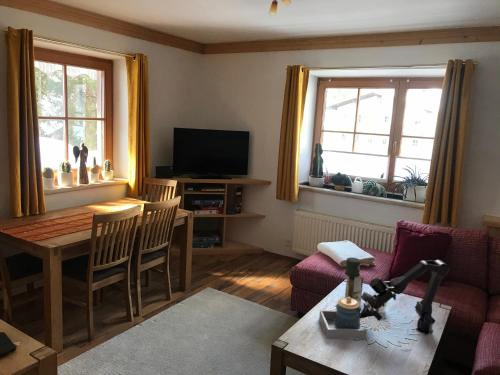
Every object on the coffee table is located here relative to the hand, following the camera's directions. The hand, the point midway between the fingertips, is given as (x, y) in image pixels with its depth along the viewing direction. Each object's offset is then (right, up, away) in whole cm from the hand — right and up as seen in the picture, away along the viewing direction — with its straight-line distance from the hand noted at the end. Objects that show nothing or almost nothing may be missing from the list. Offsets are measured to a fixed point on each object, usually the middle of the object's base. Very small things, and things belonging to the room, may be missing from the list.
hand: (359, 317), depth 212 cm
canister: (-6, -6, +1) cm, 9 cm away
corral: (-9, -6, +1) cm, 11 cm away
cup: (+18, -3, +23) cm, 29 cm away
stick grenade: (+1, -2, +24) cm, 24 cm away
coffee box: (+6, 0, +35) cm, 36 cm away
